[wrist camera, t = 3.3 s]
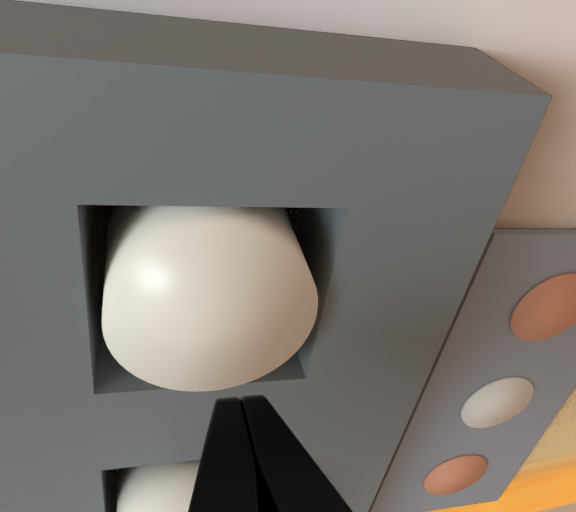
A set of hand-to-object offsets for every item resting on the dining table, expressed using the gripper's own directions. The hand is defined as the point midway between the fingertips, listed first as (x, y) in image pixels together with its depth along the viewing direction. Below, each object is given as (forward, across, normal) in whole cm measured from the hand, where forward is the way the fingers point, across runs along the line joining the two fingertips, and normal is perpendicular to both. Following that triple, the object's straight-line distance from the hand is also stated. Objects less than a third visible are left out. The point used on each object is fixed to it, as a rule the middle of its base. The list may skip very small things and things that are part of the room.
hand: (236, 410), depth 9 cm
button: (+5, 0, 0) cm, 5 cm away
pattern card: (+6, -12, +8) cm, 16 cm away
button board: (+6, 0, +8) cm, 10 cm away
